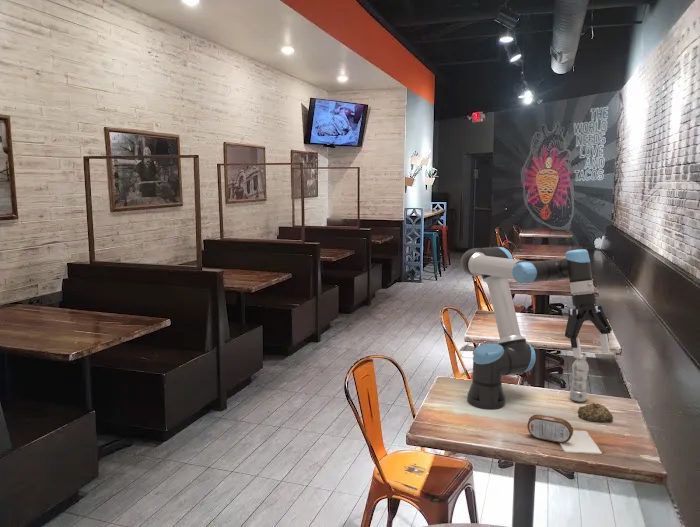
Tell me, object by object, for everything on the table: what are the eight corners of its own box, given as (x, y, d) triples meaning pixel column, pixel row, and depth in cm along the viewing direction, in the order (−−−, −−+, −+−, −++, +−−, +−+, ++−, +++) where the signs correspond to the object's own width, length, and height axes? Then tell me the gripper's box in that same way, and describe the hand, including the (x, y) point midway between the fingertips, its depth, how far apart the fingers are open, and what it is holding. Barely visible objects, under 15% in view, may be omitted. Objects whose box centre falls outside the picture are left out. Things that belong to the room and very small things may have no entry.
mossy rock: (614, 425, 208) (615, 412, 207) (579, 421, 211) (579, 408, 210) (608, 411, 220) (609, 399, 219) (575, 407, 223) (576, 395, 223)
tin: (573, 442, 192) (573, 419, 191) (571, 446, 190) (571, 423, 188) (528, 433, 200) (528, 411, 199) (526, 437, 197) (526, 415, 196)
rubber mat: (564, 452, 187) (564, 451, 187) (552, 430, 203) (552, 429, 202) (601, 454, 186) (602, 452, 186) (586, 432, 202) (586, 430, 201)
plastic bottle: (585, 398, 232) (588, 352, 229) (587, 404, 225) (591, 357, 222) (568, 396, 234) (572, 350, 230) (570, 402, 227) (573, 355, 224)
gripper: (565, 295, 185) (574, 359, 183) (616, 290, 196) (626, 350, 194) (548, 297, 192) (557, 359, 190) (599, 292, 203) (608, 350, 201)
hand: (592, 355), depth 192 cm, fingers open, 13 cm apart
